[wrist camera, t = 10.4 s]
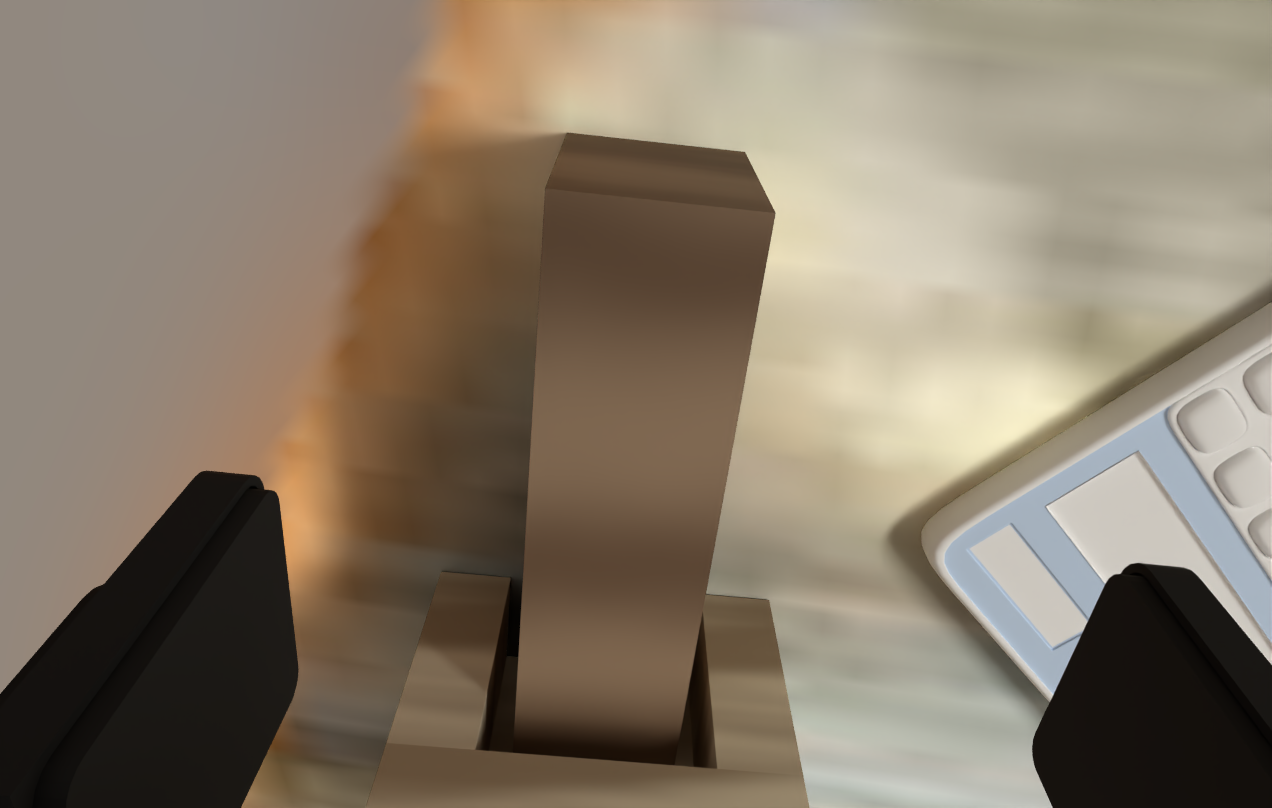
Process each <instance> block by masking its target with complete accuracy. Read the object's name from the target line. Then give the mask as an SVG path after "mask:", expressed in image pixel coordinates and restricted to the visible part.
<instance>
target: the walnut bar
mask: <svg viewBox="0 0 1272 808" xmlns="http://www.w3.org/2000/svg"><path fill="white" fill-rule="evenodd" d="M774 219H775V211H774V209H773V207H772V205H771V203H770V201H769V199H768V197H767V195H766V193H765V191H764V189H763V187H762V185H761V183H760V181H759V179H758V177H757V175H756V173H755V171H754V169H753V167H752V165H751V163H750V161H749V159H748V157H747V155H746V153H745V152H739V151H730V150H720V149H711V148H702V147H693V146H684V145H675V144H666V143H657V142H648V141H639V140H629V139H620V138H611V137H602V136H593V135H584V134H575V133H567V134H566V137H565V139H564V142H563V145H562V147H561V150H560V152H559V155H558V157H557V160H556V162H555V165H554V168H553V170H552V173H551V175H550V178H549V180H548V183H547V185H546V188H545V202H544V219H543V237H542V254H541V272H540V289H539V307H538V324H537V341H536V359H535V376H534V394H533V411H532V429H531V446H530V464H529V481H528V499H527V516H526V533H525V551H524V568H523V586H522V603H521V621H520V638H519V656H518V673H517V691H516V708H515V725H514V743H513V753H521V754H534V755H547V756H560V757H573V758H585V759H598V760H611V761H624V762H636V763H649V764H662V765H675V759H676V754H677V748H678V743H679V737H680V732H681V727H682V721H683V716H684V710H685V705H686V699H687V694H688V688H689V683H690V677H691V672H692V666H693V661H694V656H695V650H696V645H697V639H698V634H699V628H700V623H701V617H702V612H703V606H704V601H705V595H706V590H707V585H708V579H709V574H710V568H711V563H712V557H713V552H714V546H715V541H716V535H717V530H718V524H719V519H720V514H721V508H722V503H723V497H724V492H725V486H726V481H727V475H728V470H729V464H730V459H731V453H732V448H733V443H734V437H735V432H736V426H737V421H738V415H739V410H740V404H741V399H742V393H743V388H744V383H745V377H746V372H747V366H748V361H749V355H750V350H751V344H752V339H753V333H754V328H755V322H756V317H757V312H758V306H759V301H760V295H761V290H762V284H763V279H764V273H765V268H766V262H767V257H768V251H769V246H770V241H771V235H772V230H773V224H774Z"/></svg>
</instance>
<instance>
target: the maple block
mask: <svg viewBox="0 0 1272 808" xmlns="http://www.w3.org/2000/svg"><path fill="white" fill-rule="evenodd" d="M510 580H511V578H508V577H497V576H485V575H474V574H462V573H451V572H441V574H440V577H439V580H438V583H437V586H436V589H435V592H434V596H433V599H432V602H431V605H430V608H429V611H428V614H427V617H426V621H425V624H424V627H423V630H422V633H421V636H420V639H419V642H418V646H417V649H416V652H415V655H414V658H413V661H412V664H411V667H410V671H409V674H408V677H407V680H406V683H405V686H404V689H403V692H402V695H401V699H400V702H399V705H398V708H397V711H396V714H395V717H394V720H393V724H392V727H391V730H390V733H389V736H388V739H387V742H386V745H385V749H384V752H383V755H382V758H381V761H380V764H379V767H378V770H377V774H376V777H375V780H374V783H373V786H372V789H371V792H370V795H369V799H368V802H367V805H366V808H809V803H808V798H807V793H806V788H805V783H804V778H803V772H802V767H801V762H800V757H799V752H798V747H797V742H796V736H795V731H794V726H793V721H792V716H791V711H790V705H789V700H788V695H787V690H786V685H785V680H784V675H783V669H782V664H781V659H780V654H779V649H778V644H777V639H776V633H775V628H774V623H773V618H772V613H771V608H770V602H769V600H761V599H749V598H738V597H726V596H715V595H705V601H704V606H703V612H702V617H701V623H700V628H699V634H698V639H697V645H696V650H695V656H694V661H693V666H692V672H691V677H690V683H689V688H688V694H687V699H686V705H685V710H684V716H683V721H682V727H681V732H680V737H679V743H678V748H677V754H676V759H675V765H662V764H649V763H636V762H624V761H611V760H598V759H585V758H573V757H560V756H547V755H534V754H521V753H513V743H514V725H515V708H516V691H517V673H518V657H511V656H507V641H508V621H509V601H510Z"/></svg>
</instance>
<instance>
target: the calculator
mask: <svg viewBox="0 0 1272 808" xmlns="http://www.w3.org/2000/svg"><path fill="white" fill-rule="evenodd" d="M1264 451H1265V452H1264ZM921 543H922V548H923V550H924V552H925V554H926V557H927V559H928V561H929V563H930V565H931V566H932V567H933V569H934V570H935V571H936V573H937V574H938V575H939V577H940V578H941V579H942V581H943V582H944V583H945V584H946V586H947V587H948V588H949V589H950V590H951V591H952V592H953V594H954V595H955V596H956V597H957V598H958V599H959V600H960V602H961V603H962V604H963V605H964V606H965V607H966V608H967V610H968V611H969V612H970V613H971V614H972V615H973V616H974V618H975V619H976V620H977V621H978V622H979V623H980V624H981V625H982V627H983V628H984V629H985V630H986V631H987V632H988V633H989V635H990V636H991V637H992V638H993V639H994V640H995V641H996V642H997V644H998V645H999V646H1000V647H1001V648H1002V649H1003V650H1004V652H1005V653H1006V654H1007V655H1008V656H1009V657H1010V658H1011V660H1012V661H1013V662H1014V663H1015V664H1016V665H1017V666H1018V667H1019V669H1020V670H1021V671H1022V672H1023V673H1024V674H1025V675H1026V677H1027V678H1028V679H1029V680H1030V681H1031V682H1032V683H1033V685H1034V686H1035V687H1036V688H1037V689H1038V690H1039V691H1040V692H1041V694H1042V695H1043V696H1044V697H1045V698H1046V699H1047V700H1048V702H1049V703H1050V701H1051V699H1052V697H1053V694H1054V692H1055V690H1056V688H1057V686H1058V684H1059V682H1060V679H1061V677H1062V675H1063V673H1064V671H1065V669H1066V667H1067V665H1068V662H1069V660H1070V658H1071V656H1072V654H1073V652H1074V650H1075V647H1076V645H1077V643H1078V641H1079V639H1080V637H1081V635H1082V632H1083V630H1084V628H1085V626H1086V624H1087V622H1088V620H1089V618H1090V615H1091V613H1092V611H1093V609H1094V607H1095V605H1096V603H1097V600H1098V598H1099V596H1100V594H1101V592H1102V590H1103V588H1104V586H1105V584H1106V582H1107V580H1108V579H1109V578H1110V577H1111V576H1113V575H1115V574H1121V572H1122V571H1123V569H1124V568H1125V567H1127V566H1128V565H1130V564H1133V563H1144V564H1154V565H1164V566H1174V567H1184V568H1187V569H1190V570H1192V571H1193V572H1194V573H1195V574H1196V575H1197V576H1198V577H1199V578H1200V579H1201V580H1202V581H1203V583H1204V584H1205V585H1206V586H1207V587H1208V589H1209V590H1210V591H1211V592H1212V593H1213V595H1214V596H1215V597H1216V598H1217V599H1218V601H1219V602H1220V603H1221V604H1222V606H1223V607H1224V608H1225V609H1226V610H1227V612H1228V613H1229V614H1230V615H1231V616H1232V618H1233V619H1234V620H1235V621H1236V622H1237V624H1238V625H1239V626H1240V627H1241V628H1242V630H1243V631H1244V632H1245V633H1246V635H1247V636H1248V637H1249V638H1250V639H1251V641H1252V642H1253V643H1254V644H1255V645H1256V647H1257V648H1258V649H1259V650H1260V651H1261V653H1262V654H1263V655H1264V656H1265V657H1266V659H1267V660H1268V661H1269V662H1270V663H1271V665H1272V302H1271V303H1269V304H1267V305H1266V306H1264V307H1263V308H1261V309H1259V310H1258V311H1256V312H1254V313H1253V314H1251V315H1250V316H1248V317H1246V318H1245V319H1243V320H1242V321H1240V322H1238V323H1237V324H1235V325H1234V326H1232V327H1230V328H1229V329H1227V330H1226V331H1224V332H1222V333H1221V334H1219V335H1217V336H1216V337H1214V338H1213V339H1211V340H1209V341H1208V342H1206V343H1205V344H1203V345H1201V346H1200V347H1198V348H1197V349H1195V350H1193V351H1192V352H1190V353H1189V354H1187V355H1185V356H1184V357H1182V358H1181V359H1179V360H1177V361H1176V362H1174V363H1172V364H1171V365H1169V366H1168V367H1166V368H1164V369H1163V370H1161V371H1160V372H1158V373H1156V374H1155V375H1153V376H1152V377H1150V378H1148V379H1147V380H1145V381H1144V382H1142V383H1140V384H1139V385H1137V386H1136V387H1134V388H1132V389H1131V390H1129V391H1127V392H1126V393H1124V394H1123V395H1121V396H1119V397H1118V398H1116V399H1115V400H1113V401H1111V402H1110V403H1108V404H1107V405H1105V406H1103V407H1102V408H1100V409H1099V410H1097V411H1095V412H1094V413H1092V414H1090V415H1089V416H1087V417H1086V418H1084V419H1082V420H1081V421H1079V422H1078V423H1076V424H1074V425H1073V426H1071V427H1070V428H1068V429H1066V430H1065V431H1063V432H1062V433H1060V434H1058V435H1057V436H1055V437H1054V438H1052V439H1050V440H1049V441H1047V442H1045V443H1044V444H1042V445H1041V446H1039V447H1037V448H1036V449H1034V450H1033V451H1031V452H1029V453H1028V454H1026V455H1025V456H1023V457H1021V458H1020V459H1018V460H1017V461H1015V462H1013V463H1012V464H1010V465H1008V466H1007V467H1005V468H1004V469H1002V470H1000V471H999V472H997V473H996V474H994V475H992V476H991V477H989V478H988V479H986V480H984V481H983V482H981V483H980V484H978V485H976V486H975V487H973V488H972V489H970V490H969V491H967V492H965V493H964V494H962V495H961V496H959V497H958V498H956V499H955V500H953V501H952V502H950V503H949V504H947V505H946V506H944V507H943V508H942V509H940V510H939V511H938V512H937V513H936V514H935V515H933V516H932V517H931V518H930V519H929V520H928V521H927V522H926V524H925V526H924V527H923V529H922V531H921Z"/></svg>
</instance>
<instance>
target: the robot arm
mask: <svg viewBox="0 0 1272 808" xmlns="http://www.w3.org/2000/svg"><path fill="white" fill-rule="evenodd" d="M297 680H298V660H297V651H296V642H295V634H294V625H293V616H292V607H291V599H290V590H289V581H288V573H287V564H286V555H285V546H284V538H283V529H282V520H281V512H280V503H279V498H278V495H277V493H276V492H275V491H273V490H264V486H263V483H262V481H261V479H260V478H259V477H257V476H255V475H245V474H235V473H225V472H214V471H203V472H200V473H199V474H198V475H197V476H195V478H194V479H193V480H192V481H191V482H190V483H189V484H188V486H187V487H186V488H185V489H184V490H183V492H182V493H181V494H180V495H179V496H178V497H177V499H176V500H175V501H174V502H173V503H172V505H171V506H170V507H169V508H168V509H167V511H166V512H165V513H164V514H163V515H162V517H161V518H160V519H159V520H158V521H157V522H156V523H155V525H154V526H153V527H152V528H151V530H150V531H149V532H148V533H147V534H146V535H145V537H144V538H143V539H142V540H141V541H140V542H139V544H138V545H137V546H136V547H135V548H134V549H133V551H132V552H131V553H130V554H129V555H128V557H127V558H126V559H125V560H124V561H123V563H122V564H121V565H120V566H119V567H118V568H117V570H116V571H115V572H114V573H113V574H112V575H111V577H110V578H109V579H108V580H107V581H106V583H105V584H103V585H101V586H98V587H96V588H94V589H93V590H91V591H90V592H89V593H88V594H87V595H86V596H85V597H84V598H83V599H82V600H81V601H80V602H79V603H78V604H77V606H76V607H75V608H74V609H73V610H72V611H71V612H70V614H69V615H68V616H67V617H66V618H65V619H64V620H63V622H62V623H61V624H60V625H59V627H57V629H56V630H55V631H54V632H53V633H52V634H51V636H50V637H49V638H48V639H47V640H46V641H45V643H44V644H43V645H42V646H41V647H40V648H39V650H38V651H37V652H36V653H35V654H34V655H33V657H32V658H31V659H30V660H29V661H28V662H27V664H26V665H25V666H24V667H23V668H22V669H21V671H20V672H19V673H18V674H17V675H16V676H15V678H14V679H13V680H12V681H11V682H10V683H9V685H8V686H7V687H6V688H5V689H4V690H3V691H2V693H1V694H0V808H241V806H242V804H243V802H244V800H245V798H246V796H247V794H248V792H249V789H250V787H251V785H252V783H253V781H254V779H255V777H256V775H257V773H258V771H259V768H260V766H261V764H262V762H263V760H264V758H265V756H266V754H267V752H268V750H269V747H270V745H271V743H272V741H273V739H274V737H275V735H276V733H277V731H278V729H279V726H280V724H281V722H282V720H283V718H284V716H285V714H286V712H287V710H288V708H289V705H290V703H291V701H292V699H293V696H294V693H295V689H296V685H297ZM1032 753H1033V761H1034V765H1035V768H1036V771H1037V773H1038V775H1039V778H1040V780H1041V782H1042V784H1043V787H1044V789H1045V791H1046V793H1047V796H1048V798H1049V800H1050V802H1051V805H1052V807H1053V808H1272V665H1271V663H1270V662H1269V661H1268V660H1267V659H1266V657H1265V656H1264V655H1263V654H1262V653H1261V651H1260V650H1259V649H1258V648H1257V647H1256V645H1255V644H1254V643H1253V642H1252V641H1251V639H1250V638H1249V637H1248V636H1247V635H1246V633H1245V632H1244V631H1243V630H1242V628H1241V627H1240V626H1239V625H1238V624H1237V622H1236V621H1235V620H1234V619H1233V618H1232V616H1231V615H1230V614H1229V613H1228V612H1227V610H1226V609H1225V608H1224V607H1223V606H1222V604H1221V603H1220V602H1219V601H1218V599H1217V598H1216V597H1215V596H1214V595H1213V593H1212V592H1211V591H1210V590H1209V589H1208V587H1207V586H1206V585H1205V584H1204V583H1203V581H1202V580H1201V579H1200V578H1199V577H1198V576H1197V575H1196V574H1195V573H1194V572H1193V571H1192V570H1190V569H1187V568H1184V567H1174V566H1164V565H1154V564H1144V563H1133V564H1130V565H1128V566H1127V567H1125V568H1124V569H1123V571H1122V572H1121V574H1115V575H1113V576H1111V577H1110V578H1109V579H1108V580H1107V582H1106V584H1105V586H1104V588H1103V590H1102V592H1101V594H1100V596H1099V598H1098V600H1097V603H1096V605H1095V607H1094V609H1093V611H1092V613H1091V615H1090V618H1089V620H1088V622H1087V624H1086V626H1085V628H1084V630H1083V632H1082V635H1081V637H1080V639H1079V641H1078V643H1077V645H1076V647H1075V650H1074V652H1073V654H1072V656H1071V658H1070V660H1069V662H1068V665H1067V667H1066V669H1065V671H1064V673H1063V675H1062V677H1061V679H1060V682H1059V684H1058V686H1057V688H1056V690H1055V692H1054V694H1053V697H1052V699H1051V701H1050V703H1049V705H1048V707H1047V709H1046V711H1045V714H1044V716H1043V718H1042V720H1041V722H1040V724H1039V726H1038V729H1037V731H1036V733H1035V736H1034V739H1033V746H1032Z"/></svg>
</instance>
